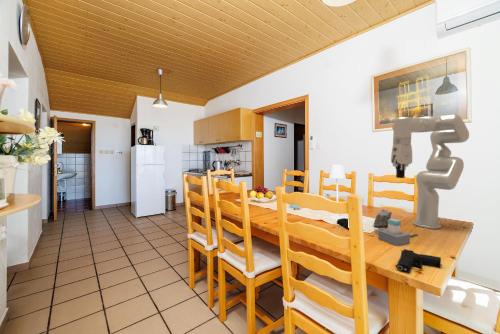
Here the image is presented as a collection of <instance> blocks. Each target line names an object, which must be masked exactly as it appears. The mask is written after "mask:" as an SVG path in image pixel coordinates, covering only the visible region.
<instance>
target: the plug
mask: <svg viewBox="0 0 500 334" xmlns="http://www.w3.org/2000/svg"><path fill="white" fill-rule="evenodd" d="M401 226H402V225H401V220H400V219H396V218H390V219H388V224H387V229H388V232H389V233H391V234H394V235H398V234H400V231H401Z"/></svg>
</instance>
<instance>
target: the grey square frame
mask: <svg viewBox="0 0 500 334" xmlns="http://www.w3.org/2000/svg"><path fill="white" fill-rule="evenodd" d="M385 229H387V228H385V227H380V228H376V229H374V234H375V235H378V234H379V230H385Z"/></svg>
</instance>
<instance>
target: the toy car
mask: <svg viewBox="0 0 500 334" xmlns="http://www.w3.org/2000/svg"><path fill="white" fill-rule="evenodd" d="M348 219H349V218H345V217H342V218H341V217H340V218H338V219H337V221H336V223H337V225H338V224H339V225H338V226H342V227H344V228H346V229H348Z"/></svg>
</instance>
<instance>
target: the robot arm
mask: <svg viewBox="0 0 500 334" xmlns="http://www.w3.org/2000/svg"><path fill="white" fill-rule="evenodd" d="M391 129H392V131H393V135H392V136H393V137H392V138H393V139H392V147H391V154H390V155H391V156H390V162H391V164H392V167H394V168H395V171H396V172H395V173H396V174H395V178H398V179H405V173H406V169H407V167H409V166H410V165H411V164H412V163H413V149H412V133H413V134H414V133H418V134H419V133H429V132H430V136H429V139H430V142H431V147H432V152H431V154H430V157H429V158H428V160H427V162H426V165H425V166H426V167H425V168H426V170H423V171H420V172H418V173H417V174H416V178H415V179H416V185H417V186H416V187H417V199H416V200H417V201H416V220H415V219H414V220H413V221H412V225H415V226H417V227H421V228H425V229H432V230H436V229H437V230H439V229H441V228H442V225H441V224H440V223H438V222H441V221H442V219H441V218H440V217H439V203H440V201H439V200H440V196H439V193H438V191H437V189H438V190H447V191H449V190H453V189H455V188H456V186H457V184H458V182H459V179H460V177H461V175H462V174H463V171H464V166H465V165H464V160H463V159H462V158H460V157H457V156H452V151H451V149H450V148H449V147H448V146H447V145H445V144H459V143H460V144H461V143H465V142H467V141H468V140H469V138H470V131H469V129H468V127H467V126H466V124H465V121H464V120H463V118H462V117H461V116H459V114H457V113H451V114H444V115H431V116H428V115H427V116H420V117H410V116H401V117H396V118H395V119H394V120H393V124H392V128H391Z"/></svg>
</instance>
